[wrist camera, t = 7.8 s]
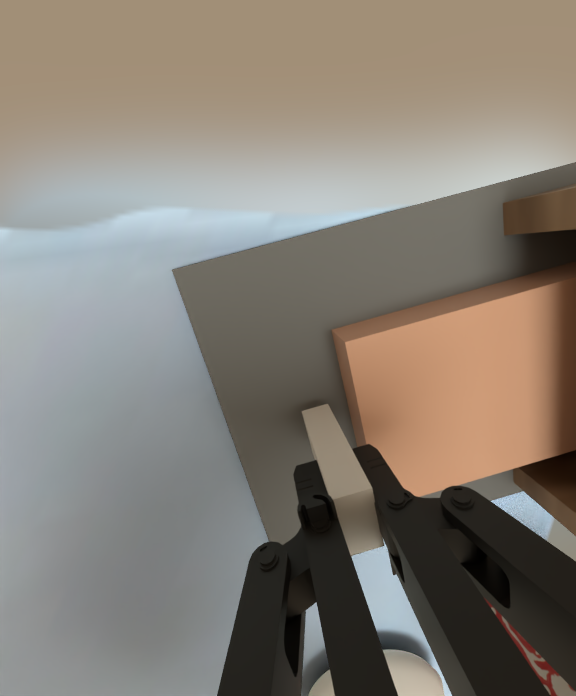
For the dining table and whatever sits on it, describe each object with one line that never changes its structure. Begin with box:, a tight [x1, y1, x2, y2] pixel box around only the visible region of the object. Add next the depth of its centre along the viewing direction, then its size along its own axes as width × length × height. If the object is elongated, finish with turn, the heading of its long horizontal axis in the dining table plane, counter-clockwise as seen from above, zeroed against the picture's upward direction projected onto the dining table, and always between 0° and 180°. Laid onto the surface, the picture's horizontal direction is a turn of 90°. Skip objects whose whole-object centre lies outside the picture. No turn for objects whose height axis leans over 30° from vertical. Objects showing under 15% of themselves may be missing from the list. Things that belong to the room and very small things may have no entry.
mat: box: [172, 162, 576, 545], centre depth 19 cm, size 28×20×1 cm
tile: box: [332, 262, 576, 497], centre depth 17 cm, size 14×10×3 cm
